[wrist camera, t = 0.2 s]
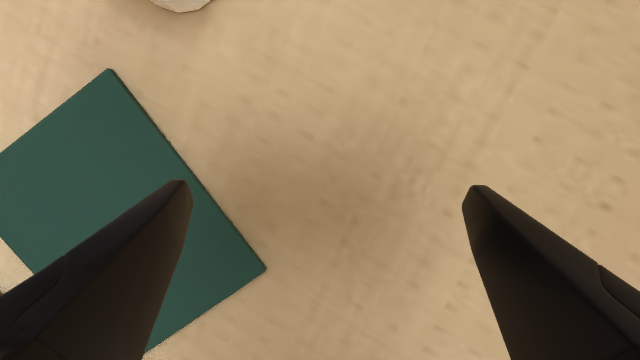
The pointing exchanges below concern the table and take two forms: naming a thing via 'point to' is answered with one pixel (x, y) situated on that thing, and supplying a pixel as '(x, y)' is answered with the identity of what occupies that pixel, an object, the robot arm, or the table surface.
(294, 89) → the table surface
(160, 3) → the white cup
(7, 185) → the desk mat
